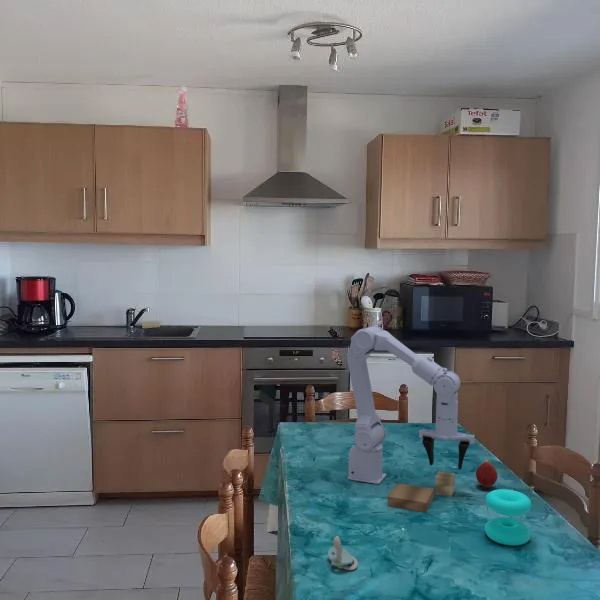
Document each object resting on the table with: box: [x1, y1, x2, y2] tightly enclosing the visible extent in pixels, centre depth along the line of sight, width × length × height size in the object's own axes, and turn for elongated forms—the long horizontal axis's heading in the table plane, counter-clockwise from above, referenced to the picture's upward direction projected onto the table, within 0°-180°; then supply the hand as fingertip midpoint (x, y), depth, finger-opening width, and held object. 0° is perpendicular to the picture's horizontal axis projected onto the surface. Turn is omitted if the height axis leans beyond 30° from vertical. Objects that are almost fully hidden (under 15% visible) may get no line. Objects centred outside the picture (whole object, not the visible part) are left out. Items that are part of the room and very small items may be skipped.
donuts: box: [484, 488, 532, 546], centre depth 142 cm, size 10×10×10 cm
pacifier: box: [327, 535, 359, 571], centre depth 130 cm, size 7×6×6 cm
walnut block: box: [387, 483, 435, 513], centre depth 163 cm, size 10×10×3 cm
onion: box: [475, 459, 499, 489], centre depth 172 cm, size 6×6×8 cm
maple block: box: [434, 470, 456, 498], centre depth 169 cm, size 4×4×5 cm
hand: (445, 466), depth 168 cm, fingers open, 7 cm apart
